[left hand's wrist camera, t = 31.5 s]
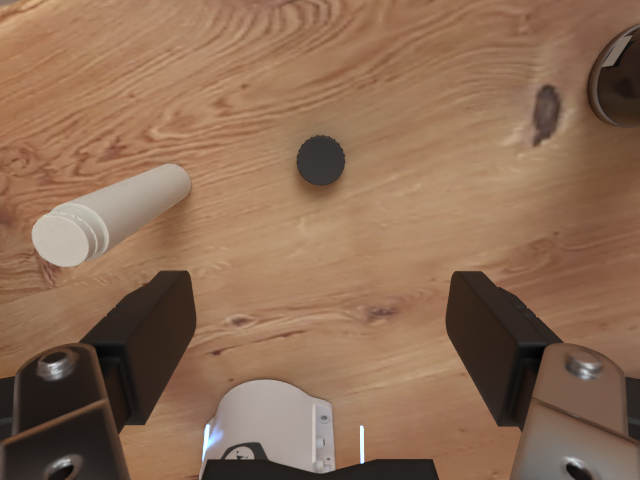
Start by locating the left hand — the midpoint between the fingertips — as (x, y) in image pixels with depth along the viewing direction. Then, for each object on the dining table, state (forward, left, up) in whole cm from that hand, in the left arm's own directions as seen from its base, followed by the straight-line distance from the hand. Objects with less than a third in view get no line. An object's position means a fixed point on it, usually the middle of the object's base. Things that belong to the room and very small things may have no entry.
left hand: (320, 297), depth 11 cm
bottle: (+13, +10, -29) cm, 33 cm away
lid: (0, 0, -27) cm, 27 cm away
